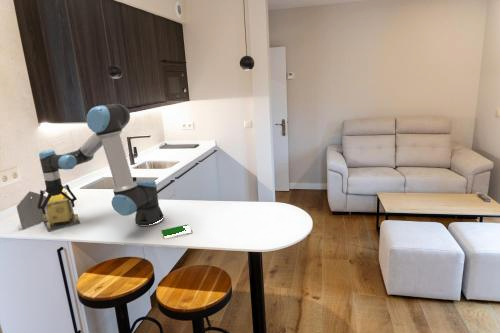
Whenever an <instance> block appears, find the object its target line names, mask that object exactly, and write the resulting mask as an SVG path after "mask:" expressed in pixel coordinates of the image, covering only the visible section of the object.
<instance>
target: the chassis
mask: <svg viewBox="0 0 500 333" xmlns="http://www.w3.org/2000/svg"><path fill="white" fill-rule="evenodd" d="M42 215H43V219H44V222H43V224H44V226H45V228H46V230H47V232H48V233H50V232H53V231H57V230H58V231H59V230H61V229H65V228H69V227H71V226H75V225H76V226H77V225H79V224H81V221H80V219H79V215H78V213H77V214H76V213H75V212H74V213H73V214H72V216H71V218H70V220H69V221H65V222H58V223H52V224H50V221H48V220H47V218H46V214H42Z"/></svg>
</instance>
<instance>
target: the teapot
mask: <svg viewBox="0 0 500 333" xmlns="http://www.w3.org/2000/svg"><path fill="white" fill-rule="evenodd" d="M62 192H64V193H65V194H66V195H68V196H69V193H68V191H67V190H66V189H65V190H64V189H63V190H62ZM64 199H67V198H66V197H64V196H63V195H62V194H59V195H55V196H51V198H50V199H49V201H48V204H49V202H50V201H57V200H64Z"/></svg>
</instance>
